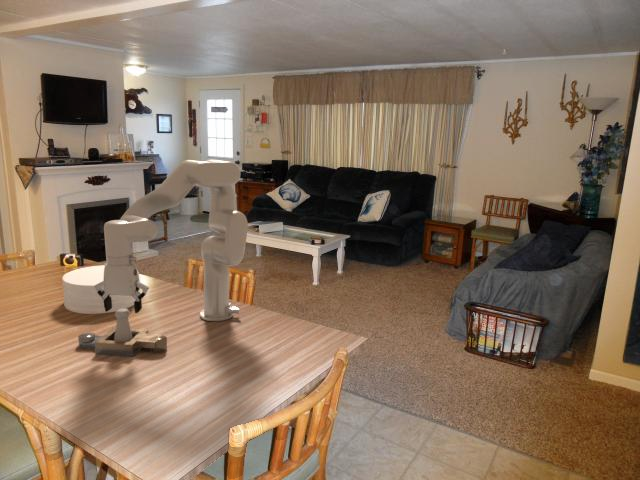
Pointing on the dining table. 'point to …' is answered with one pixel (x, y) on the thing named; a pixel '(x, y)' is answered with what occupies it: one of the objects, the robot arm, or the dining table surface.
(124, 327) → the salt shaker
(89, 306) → the plate stack
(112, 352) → the lower end link
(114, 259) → the robot arm
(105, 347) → the upper end link
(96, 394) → the dining table surface
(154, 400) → the dining table surface
